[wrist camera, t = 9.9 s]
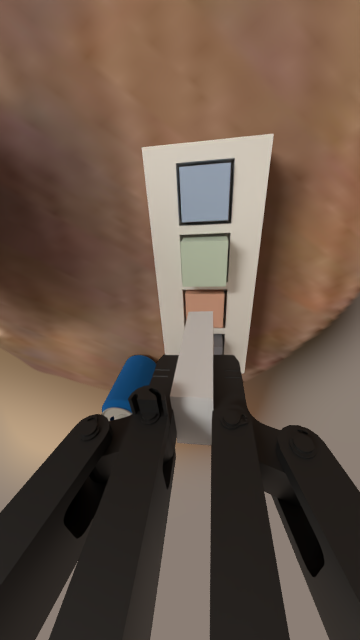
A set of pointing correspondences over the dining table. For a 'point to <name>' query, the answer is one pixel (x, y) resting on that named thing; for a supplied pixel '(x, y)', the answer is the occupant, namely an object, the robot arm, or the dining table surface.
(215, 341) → the charcoal key
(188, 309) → the terracotta key
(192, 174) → the slate key
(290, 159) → the dining table surface
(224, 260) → the sage key
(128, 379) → the beverage can
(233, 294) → the keypad
